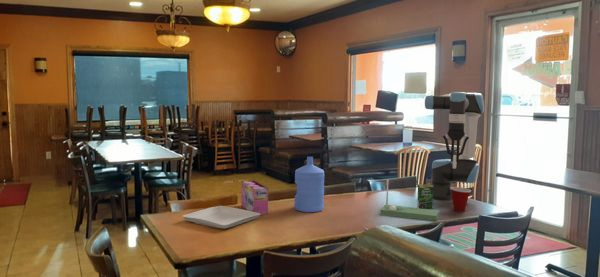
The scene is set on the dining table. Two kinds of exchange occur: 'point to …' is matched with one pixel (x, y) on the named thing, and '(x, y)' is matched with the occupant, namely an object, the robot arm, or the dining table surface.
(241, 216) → the square plate
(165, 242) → the dining table surface
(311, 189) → the water jug
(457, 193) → the plastic cup
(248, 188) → the gum box
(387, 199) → the flag pin
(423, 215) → the putting mat
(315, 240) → the dining table surface
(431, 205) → the coffee box
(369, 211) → the dining table surface
